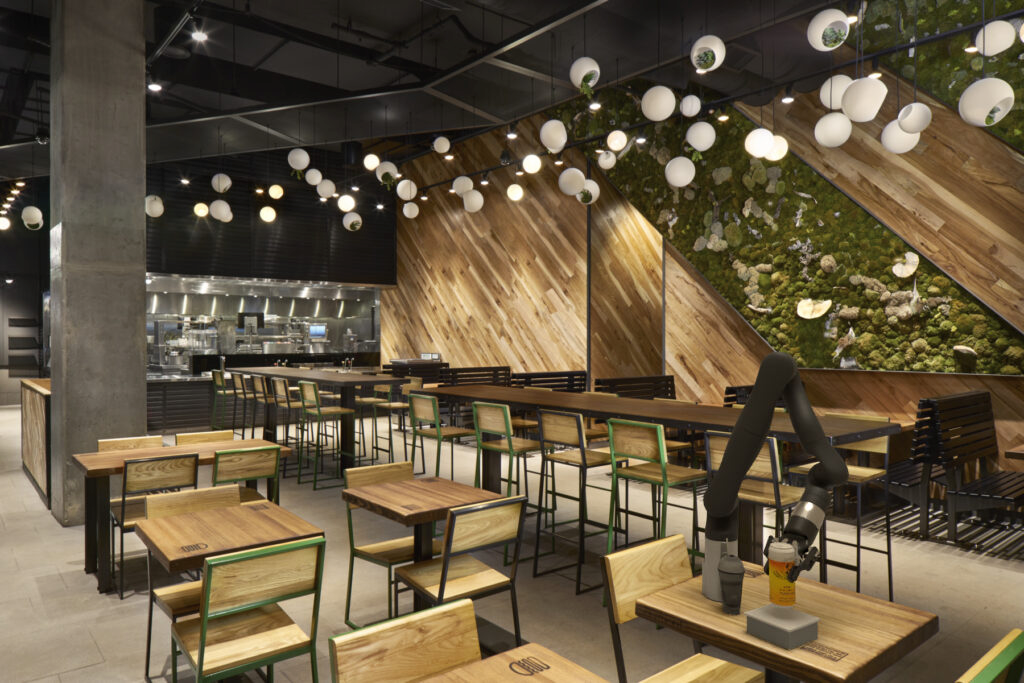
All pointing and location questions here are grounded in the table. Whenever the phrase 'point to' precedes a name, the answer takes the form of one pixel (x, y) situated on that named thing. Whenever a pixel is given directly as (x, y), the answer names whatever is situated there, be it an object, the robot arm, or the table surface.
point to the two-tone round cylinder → (781, 575)
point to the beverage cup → (731, 582)
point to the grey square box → (782, 626)
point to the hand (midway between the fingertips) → (778, 577)
